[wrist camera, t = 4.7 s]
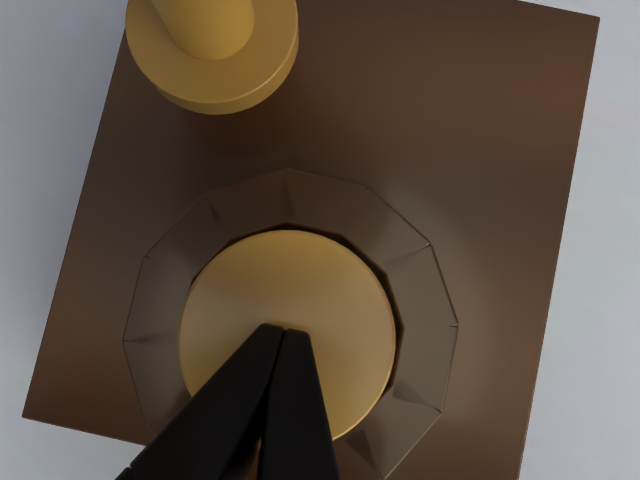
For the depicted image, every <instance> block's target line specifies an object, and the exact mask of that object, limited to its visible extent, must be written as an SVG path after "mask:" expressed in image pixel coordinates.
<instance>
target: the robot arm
mask: <svg viewBox="0 0 640 480" xmlns="http://www.w3.org/2000/svg"><path fill="white" fill-rule="evenodd" d="M260 441H261V442H260ZM259 444H260V448H259ZM258 448H259V455H258V462H257V470H256V478H255V480H341V476H340V472H339V467H338V463H337V458H336V453H335V449H334V444H333V440H332V435H331V430H330V426H329V421H328V417H327V412H326V408H325V403H324V398H323V394H322V389H321V385H320V380H319V375H318V371H317V366H316V362H315V357H314V353H313V348H312V343H311V339H310V335H309V334H308V333H307V332H305V331H300V330H296V329H291V328H288V329H286V330H284V328H283V327H282V326H278V325H273V324H269V323H262V324H261V325H259V326H258V327H257V328H256V329H255V330H254V332H253V333H252V334H251V335H250V336H249V337H248V338H247V339H246V340H245V341H244V342H243V343H242V344H241V345H240V347H239V348H238V349H237V350H236V351H235V352H234V353H233V354H232V355H231V356H230V357H229V358H228V359H227V360H226V362H225V363H224V364H223V365H222V366H221V367H220V368H219V369H218V370H217V371H216V372H215V373H214V374H213V375H212V376H211V378H210V379H209V380H208V381H207V382H206V383H205V384H204V385H203V386H202V387H201V388H200V389H199V390H198V391H197V393H196V394H195V395H194V396H193V397H192V398H191V399H190V400H189V401H188V402H187V403H186V404H185V405H184V406H183V408H182V409H181V410H180V411H179V412H178V413H177V414H176V415H175V416H174V417H173V418H172V419H171V420H170V421H169V423H168V424H167V425H166V426H165V427H164V428H163V429H162V430H161V431H160V432H159V433H158V434H157V435H156V436H155V438H154V439H153V440H152V441H151V442H150V443H149V444H148V445H147V446H146V447H145V448H144V449H143V450H142V451H141V452H140V454H139V455H138V456H137V457H136V458H135V459H134V460H133V461H132V462H131V463H130V468H129V467H127V468H125V469H124V470H123V471H122V473H121V474H120V475H119V476H118V477H117V478H116V479H115V480H247V479H248V476H249V474H250V471H251V468H252V466H253V463H254V460H255V457H256V454H257V451H258Z"/></svg>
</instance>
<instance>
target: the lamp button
mask: <svg viewBox="0 0 640 480" xmlns="http://www.w3.org/2000/svg"><path fill="white" fill-rule="evenodd" d="M262 323H269V324H273V325H278V326H282V327H283V328H284V330H286V329H288V328H291V329H296V330H300V331H305V332H307V333H308V334H309V335H310V339H311V343H312V348H313V353H314V357H315V362H316V366H317V371H318V375H319V380H320V385H321V389H322V394H323V398H324V403H325V408H326V412H327V417H328V421H329V426H330V430H331V435H332V440H335V439H337V438H339V437H340V436H342V435H344V434H346V433H347V432H348V431H350V430H351V429H352V428H354V427H355V426H356V425H358V424H359V423H360V422H361V421H362V420H363V419H364V418H365V417H366V416H367V415H368V413H369V412H370V411H371V410H372V408H373V407H374V406H375V404H376V403H377V401H378V400H379V398H380V396H381V395H382V393H383V391H384V389H385V387H386V384H387V382H388V380H389V377H390V374H391V370H392V367H393V363H394V356H395V349H396V332H395V324H394V317H393V314H392V310H391V306H390V303H389V301H388V298H387V296H386V293H385V291H384V289H383V287H382V286H381V284H380V282H379V280H378V279H377V277H376V276H375V275H374V273H373V272H372V271H371V269H370V268H369V267H368V266H367V265H366V264H365V263H364V262H363V261H362V260H361V259H360V258H359V257H358V256H357V255H355V254H354V253H353V252H352V251H350V250H349V249H348V248H346V247H344V246H343V245H341V244H339V243H338V242H336V241H334V240H331V239H329V238H327V237H324V236H321V235H318V234H314V233H311V232H305V231H299V230H276V231H268V232H264V233H260V234H255V235H252V236H250V237H247V238H245V239H242V240H240V241H238V242H236V243H235V244H233V245H231V246H229V247H228V248H226V249H225V250H223V251H222V252H221V253H219V254H218V255H217V256H216V257H215V258H214V259H212V260H211V261H210V262H209V263H208V264H207V265H206V266H205V268H204V269H203V270H202V271H201V273H200V274H199V275H198V276H197V278H196V280H195V281H194V283H193V284H192V286H191V288H190V290H189V292H188V294H187V296H186V298H185V300H184V303H183V307H182V310H181V313H180V317H179V323H178V329H177V352H178V360H179V365H180V369H181V373H182V376H183V379H184V382H185V384H186V387H187V389H188V391H189V393H190V395H191V397H193V396H194V395H195V394H196V393H197V391H198V390H199V389H200V388H201V387H202V386H203V385H204V384H205V383H206V382H207V381H208V380H209V379H210V378H211V376H212V375H213V374H214V373H215V372H216V371H217V370H218V369H219V368H220V367H221V366H222V365H223V364H224V363H225V362H226V360H227V359H228V358H229V357H230V356H231V355H232V354H233V353H234V352H235V351H236V350H237V349H238V348H239V347H240V345H241V344H242V343H243V342H244V341H245V340H246V339H247V338H248V337H249V336H250V335H251V334H252V333H253V332H254V330H255V329H256V328H257V327H258V326H259V325H261V324H262ZM260 442H261V441H260ZM259 448H260V444H259Z"/></svg>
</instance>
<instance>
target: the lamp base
mask: <svg viewBox="0 0 640 480" xmlns="http://www.w3.org/2000/svg"><path fill="white" fill-rule="evenodd" d="M295 1H296V5H297V13H298V24H299V44H298V51H297V55H296V58H295V61H294V64H293V66H292V68H291V70H290V72H289V74H288V75H287V77H286V79H285V80H284V81H283V83H282V84H281V85H280V86H279V87H278V89H277V90H275V91H274V92H273V93H272V94H271V95H270V96H269V97H267V98H266V99H265V100H263V101H262V102H260V103H258V104H256V105H254V106H253V107H250V108H248V109H245V110H242V111H239V112H235V113H231V114H221V115H211V114H203V113H197V112H193V111H190V110H187V109H185V108H182V107H180V106H178V105H176V104H174V103H173V102H171V101H169V100H168V99H167V98H166V97H164V96H163V95H162V94H161V93H160V92H159V91H158V90H157V89H156V88H155V87H154V86H153V85H152V83H151V82H150V81H149V80H148V78H147V77H146V76H145V75H144V73H143V72H142V70H141V69H140V68H139V66H138V65H137V63H136V61H135V59H134V58H133V56H132V53H131V51H130V48H129V45H128V41H127V36H126V26H125V30H124V33H123V37H122V41H121V45H120V49H119V52H118V56H117V60H116V64H115V67H114V71H113V75H112V79H111V82H110V86H109V90H108V94H107V97H106V101H105V105H104V109H103V112H102V116H101V120H100V124H99V128H98V131H97V135H96V139H95V143H94V146H93V150H92V154H91V158H90V161H89V165H88V169H87V173H86V176H85V180H84V184H83V188H82V191H81V195H80V199H79V203H78V207H77V210H76V214H75V218H74V222H73V225H72V229H71V233H70V237H69V240H68V244H67V248H66V252H65V255H64V259H63V263H62V267H61V270H60V274H59V278H58V282H57V286H56V289H55V293H54V297H53V301H52V304H51V308H50V312H49V316H48V319H47V323H46V327H45V331H44V334H43V338H42V342H41V346H40V349H39V353H38V357H37V361H36V365H35V368H34V372H33V376H32V380H31V383H30V387H29V391H28V395H27V398H26V402H25V406H24V410H23V413H22V417H23V418H26V419H30V420H34V421H39V422H43V423H48V424H52V425H56V426H61V427H65V428H70V429H74V430H78V431H83V432H87V433H91V434H96V435H100V436H105V437H109V438H113V439H118V440H122V441H127V442H131V443H135V444H140V445H144V446H147V445H148V444H149V443H150V442H151V441H152V440H153V439H154V438H155V436H156V435H157V434H158V433H159V432H160V431H161V430H162V429H163V428H164V427H165V426H166V425H167V424H168V423H169V421H170V420H171V419H172V418H173V417H174V416H175V415H176V414H177V413H178V412H179V411H180V410H181V409H182V408H183V406H184V405H185V404H186V403H187V402H188V401H189V400H190V399H191V398H192V397H191V395H190V393H189V391H188V389H187V387H186V384H185V382H184V379H183V376H182V373H181V369H180V365H179V360H178V352H177V329H178V323H179V317H180V313H181V310H182V307H183V303H184V300H185V298H186V296H187V294H188V292H189V290H190V288H191V286H192V284H193V283H194V281H195V280H196V278H197V276H198V275H199V274H200V273H201V271H202V270H203V269H204V268H205V266H206V265H207V264H208V263H209V262H210V261H211V260H212V259H214V258H215V257H216V256H217V255H218V254H219V253H221V252H222V251H223V250H225V249H226V248H228V247H229V246H231V245H233V244H235V243H236V242H238V241H240V240H242V239H245V238H247V237H250V236H252V235H255V234H260V233H264V232H268V231H276V230H299V231H305V232H311V233H314V234H318V235H321V236H324V237H327V238H329V239H331V240H334V241H336V242H338V243H339V244H341V245H343V246H344V247H346V248H348V249H349V250H350V251H352V252H353V253H354V254H355V255H357V256H358V257H359V258H360V259H361V260H362V261H363V262H364V263H365V264H366V265H367V266H368V267H369V268H370V269H371V271H372V272H373V273H374V275H375V276H376V277H377V279H378V280H379V282H380V284H381V286H382V287H383V289H384V291H385V293H386V296H387V298H388V301H389V303H390V306H391V310H392V314H393V317H394V324H395V332H396V349H395V356H394V363H393V367H392V370H391V374H390V377H389V380H388V382H387V384H386V387H385V389H384V391H383V393H382V395H381V396H380V398H379V400H378V401H377V403H376V404H375V406H374V407H373V408H372V410H371V411H370V412H369V413H368V415H367V416H366V417H365V418H364V419H363V420H362V421H361V422H360V423H359V424H358V425H356V426H355V427H354V428H352V429H351V430H350V431H348V432H347V433H346V434H344V435H342V436H340V437H339V438H337V439H335V440H333V444H334V449H335V453H336V458H337V463H338V467H339V472H340V476H341V480H519V474H520V468H521V463H522V457H523V451H524V446H525V440H526V435H527V429H528V423H529V418H530V412H531V406H532V401H533V395H534V389H535V384H536V378H537V372H538V367H539V361H540V355H541V350H542V344H543V338H544V333H545V327H546V321H547V316H548V310H549V304H550V299H551V293H552V287H553V282H554V276H555V271H556V265H557V259H558V254H559V248H560V242H561V237H562V231H563V225H564V220H565V214H566V208H567V203H568V197H569V191H570V186H571V180H572V174H573V169H574V163H575V157H576V152H577V146H578V140H579V135H580V129H581V124H582V118H583V112H584V107H585V101H586V95H587V90H588V84H589V78H590V73H591V67H592V61H593V56H594V50H595V44H596V39H597V33H598V27H599V22H600V17H597V16H592V15H587V14H582V13H577V12H572V11H567V10H563V9H558V8H553V7H548V6H543V5H538V4H534V3H529V2H524V1H519V0H295ZM258 455H259V448H258V451H257V454H256V457H255V460H254V463H253V466H252V468H251V471H250V474H249V476H248V479H247V480H255V478H256V470H257V462H258Z"/></svg>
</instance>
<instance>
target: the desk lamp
mask: <svg viewBox="0 0 640 480" xmlns="http://www.w3.org/2000/svg"><path fill="white" fill-rule="evenodd" d="M125 26H126V36H127V41H128V45H129V48H130V51H131V53H132V56H133V58H134V59H135V61H136V63H137V65H138V66H139V68H140V69H141V70H142V72H143V73H144V75H145V76H146V77H147V78H148V80H149V81H150V82H151V83H152V85H153V86H154V87H155V88H156V89H157V90H158V91H159V92H160V93H161V94H162V95H163V96H164V97H166V98H167V99H168V100H169V101H171V102H173V103H174V104H176V105H178V106H180V107H182V108H185V109H187V110H190V111H193V112H197V113H203V114H211V115H221V114H231V113H235V112H239V111H242V110H245V109H248V108H250V107H253V106H254V105H256V104H258V103H260V102H262V101H263V100H265V99H266V98H267V97H269V96H270V95H271V94H272V93H273V92H274V91H275V90H277V89H278V87H279V86H280V85H281V84H282V83H283V81H284V80H285V79H286V77H287V75H288V74H289V72H290V70H291V68H292V66H293V64H294V61H295V58H296V55H297V51H298V44H299V24H298V13H297V5H296V1H295V0H129V1H128V5H127V10H126V21H125Z"/></svg>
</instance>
